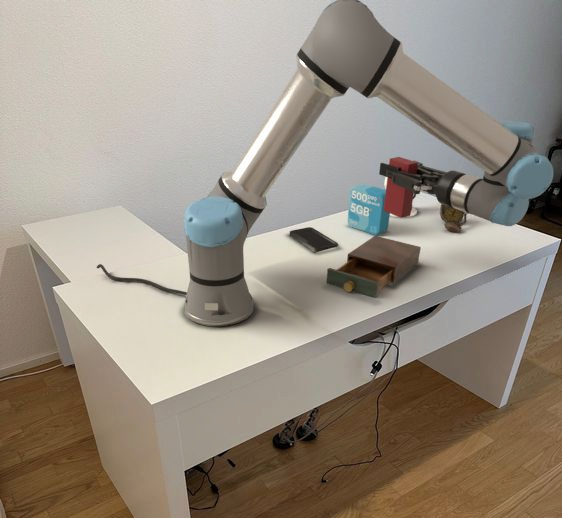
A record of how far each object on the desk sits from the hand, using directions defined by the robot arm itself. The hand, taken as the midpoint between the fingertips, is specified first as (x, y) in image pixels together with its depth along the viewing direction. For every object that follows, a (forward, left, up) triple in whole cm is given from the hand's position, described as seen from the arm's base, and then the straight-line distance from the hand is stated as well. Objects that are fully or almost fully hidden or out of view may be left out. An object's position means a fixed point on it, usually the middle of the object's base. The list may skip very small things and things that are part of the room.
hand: (386, 167), depth 136 cm
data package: (-10, +13, -22) cm, 27 cm away
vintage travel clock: (+9, +31, -22) cm, 39 cm away
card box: (+5, -2, -10) cm, 12 cm away
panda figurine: (-9, +33, -22) cm, 41 cm away
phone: (-18, -5, -22) cm, 29 cm away
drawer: (+7, -21, -22) cm, 31 cm away
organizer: (+7, -11, -22) cm, 26 cm away
